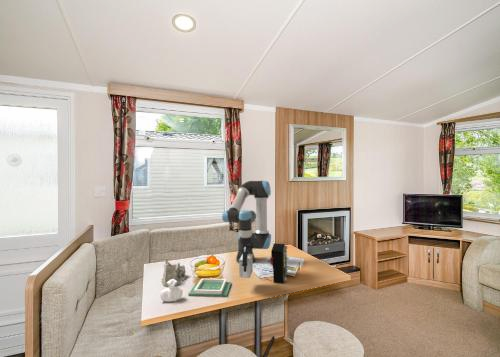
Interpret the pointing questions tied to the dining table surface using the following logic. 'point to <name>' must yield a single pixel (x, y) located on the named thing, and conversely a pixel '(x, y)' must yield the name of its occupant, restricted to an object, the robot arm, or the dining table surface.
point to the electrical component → (279, 262)
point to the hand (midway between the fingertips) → (246, 272)
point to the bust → (171, 292)
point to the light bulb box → (249, 263)
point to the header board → (211, 288)
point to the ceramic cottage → (173, 273)
